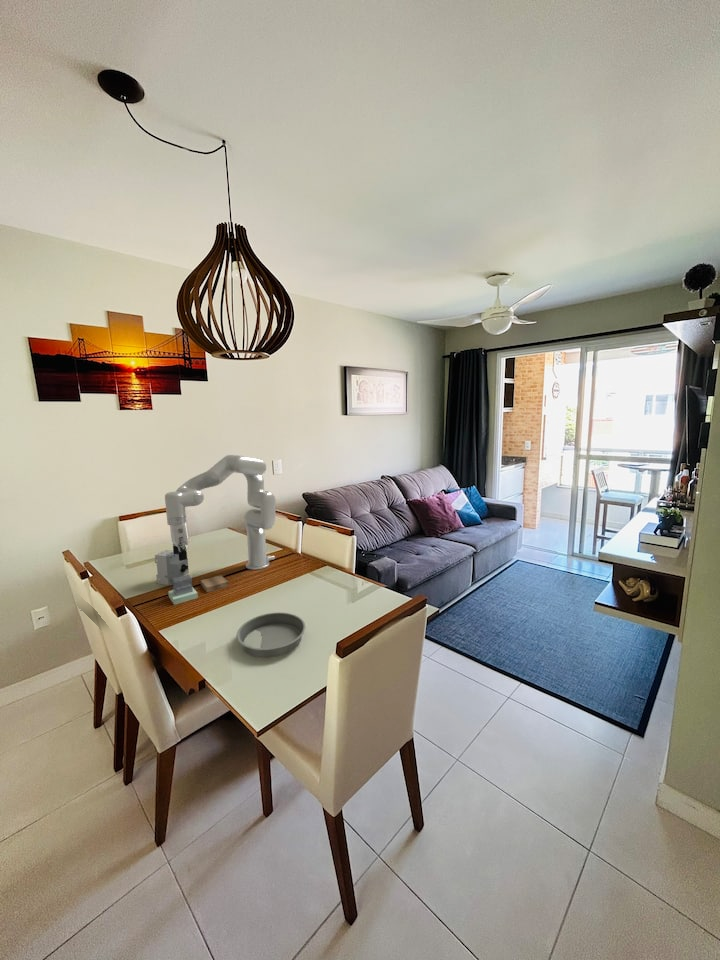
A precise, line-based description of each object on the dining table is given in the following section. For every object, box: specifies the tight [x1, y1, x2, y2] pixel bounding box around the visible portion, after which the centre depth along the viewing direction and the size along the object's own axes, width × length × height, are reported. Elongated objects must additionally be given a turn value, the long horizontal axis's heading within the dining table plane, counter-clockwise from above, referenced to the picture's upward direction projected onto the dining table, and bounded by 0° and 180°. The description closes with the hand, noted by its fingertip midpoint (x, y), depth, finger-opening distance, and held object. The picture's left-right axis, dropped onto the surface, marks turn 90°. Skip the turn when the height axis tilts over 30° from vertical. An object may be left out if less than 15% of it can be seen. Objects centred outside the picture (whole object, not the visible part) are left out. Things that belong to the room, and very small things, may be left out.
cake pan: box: [236, 612, 306, 659], centre depth 140 cm, size 25×25×4 cm
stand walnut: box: [200, 574, 229, 593], centre depth 184 cm, size 10×10×2 cm
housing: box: [172, 574, 193, 596], centre depth 172 cm, size 7×5×7 cm
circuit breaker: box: [154, 549, 190, 586], centre depth 187 cm, size 8×14×15 cm, turn 78°
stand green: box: [168, 586, 199, 605], centre depth 172 cm, size 10×10×2 cm
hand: (180, 556), depth 170 cm, fingers open, 9 cm apart
